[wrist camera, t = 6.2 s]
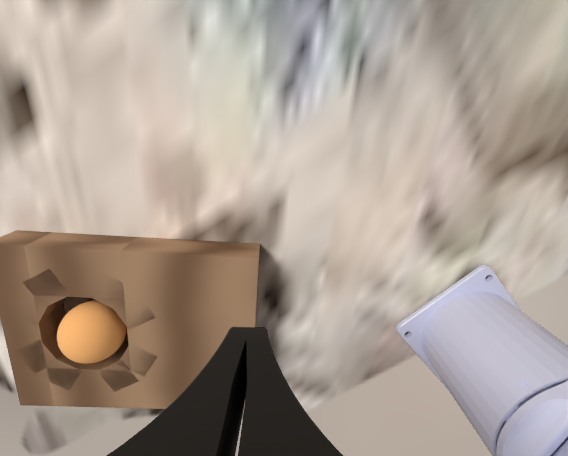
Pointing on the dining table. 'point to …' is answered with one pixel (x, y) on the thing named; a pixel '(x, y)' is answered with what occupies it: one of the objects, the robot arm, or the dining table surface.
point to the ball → (90, 332)
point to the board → (122, 312)
